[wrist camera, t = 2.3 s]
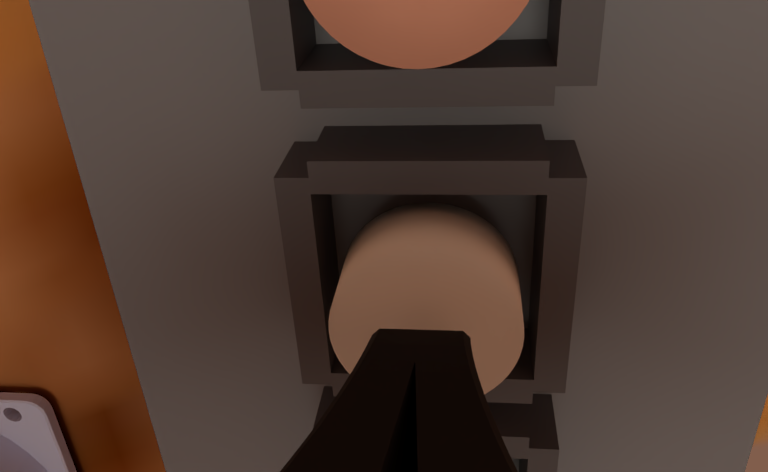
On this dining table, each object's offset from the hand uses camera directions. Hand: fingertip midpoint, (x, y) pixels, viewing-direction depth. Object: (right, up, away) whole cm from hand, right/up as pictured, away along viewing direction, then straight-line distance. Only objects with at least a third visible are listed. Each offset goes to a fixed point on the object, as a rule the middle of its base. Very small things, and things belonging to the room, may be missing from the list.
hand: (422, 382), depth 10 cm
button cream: (0, +1, +2) cm, 3 cm away
